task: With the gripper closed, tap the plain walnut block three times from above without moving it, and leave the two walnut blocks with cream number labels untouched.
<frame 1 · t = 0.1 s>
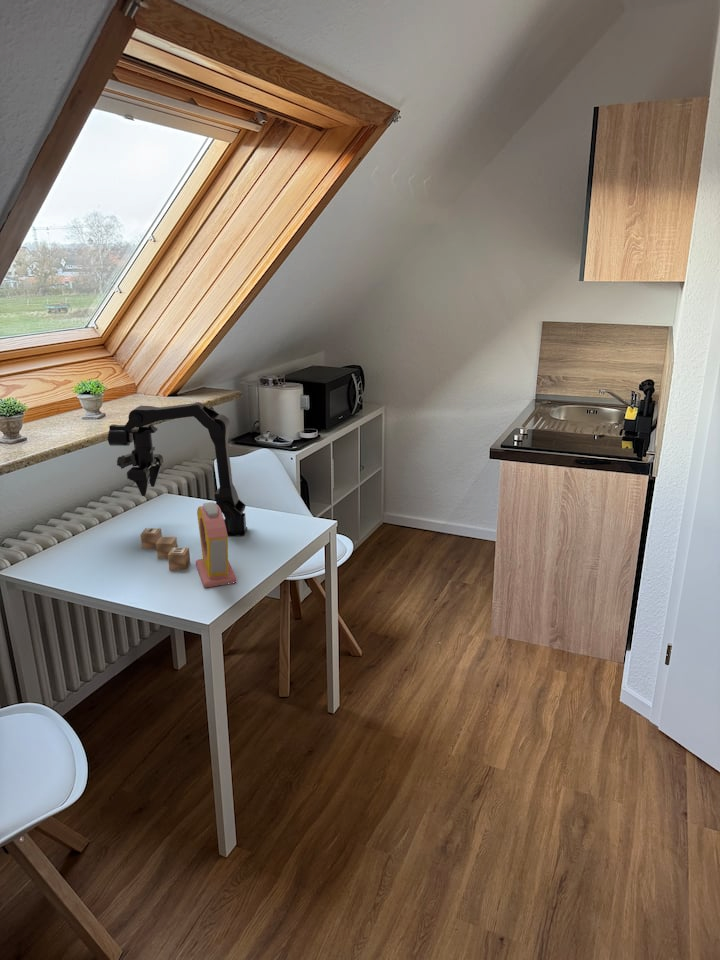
hand: (148, 491, 228), 15 cm above the table, tool pointing down, fingers open, 9 cm apart
numbered block b: (179, 566, 208), on the table
plain block: (167, 555, 216), on the table
numbered block a: (152, 545, 223), on the table
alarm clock: (215, 574, 203), on the table
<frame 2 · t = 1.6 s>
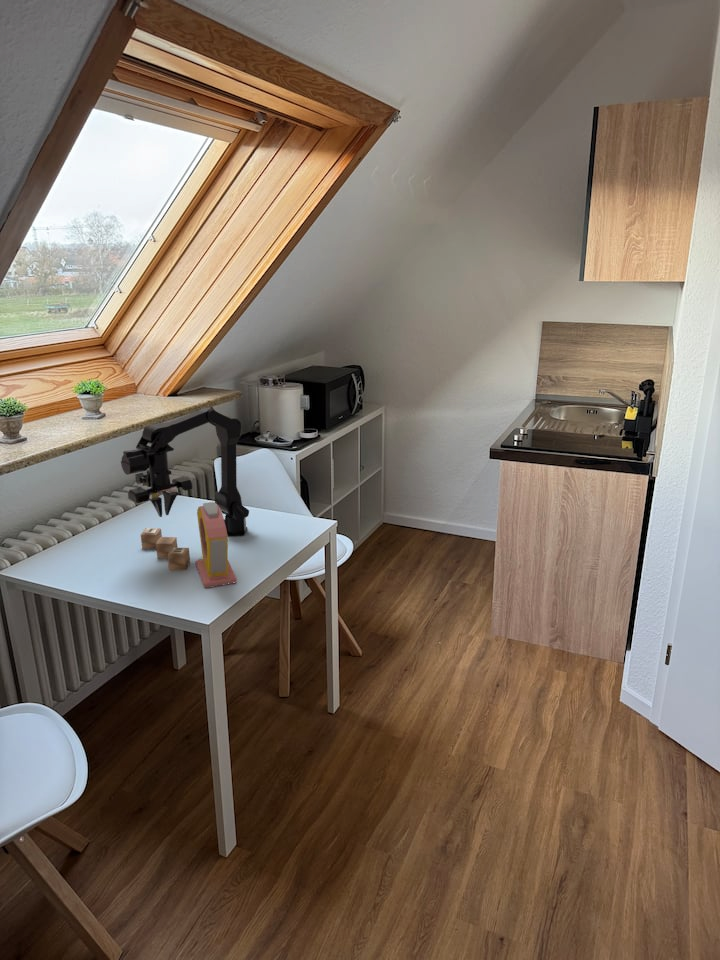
hand: (163, 515, 212), 13 cm above the table, tool pointing down, fingers closed
nothing on the table moved.
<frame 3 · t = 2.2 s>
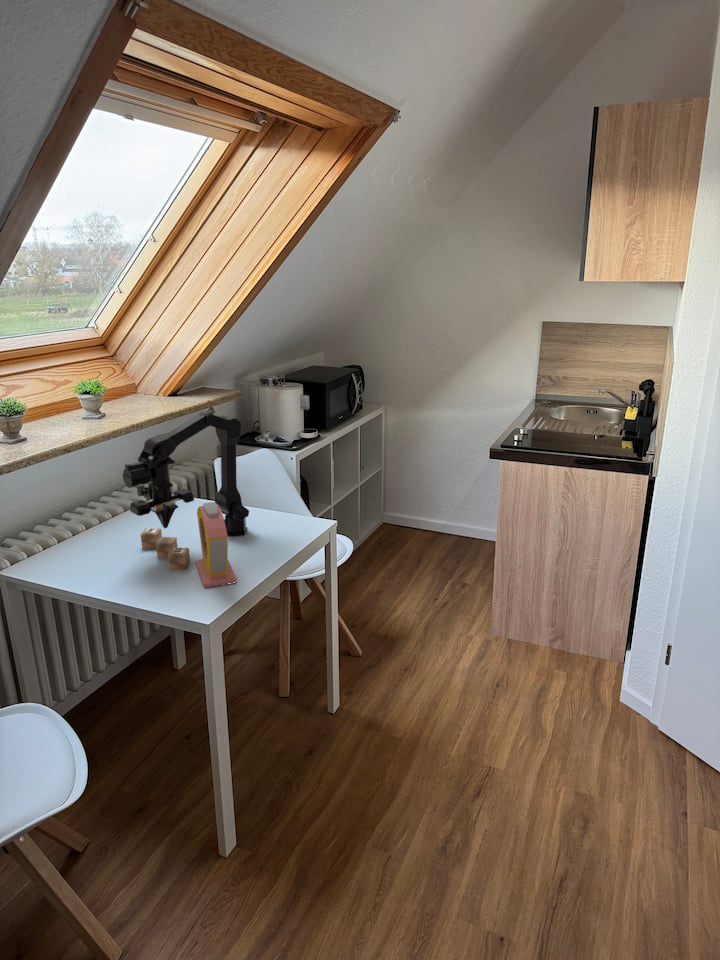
hand: (165, 527, 213), 9 cm above the table, tool pointing down, fingers closed
nothing on the table moved.
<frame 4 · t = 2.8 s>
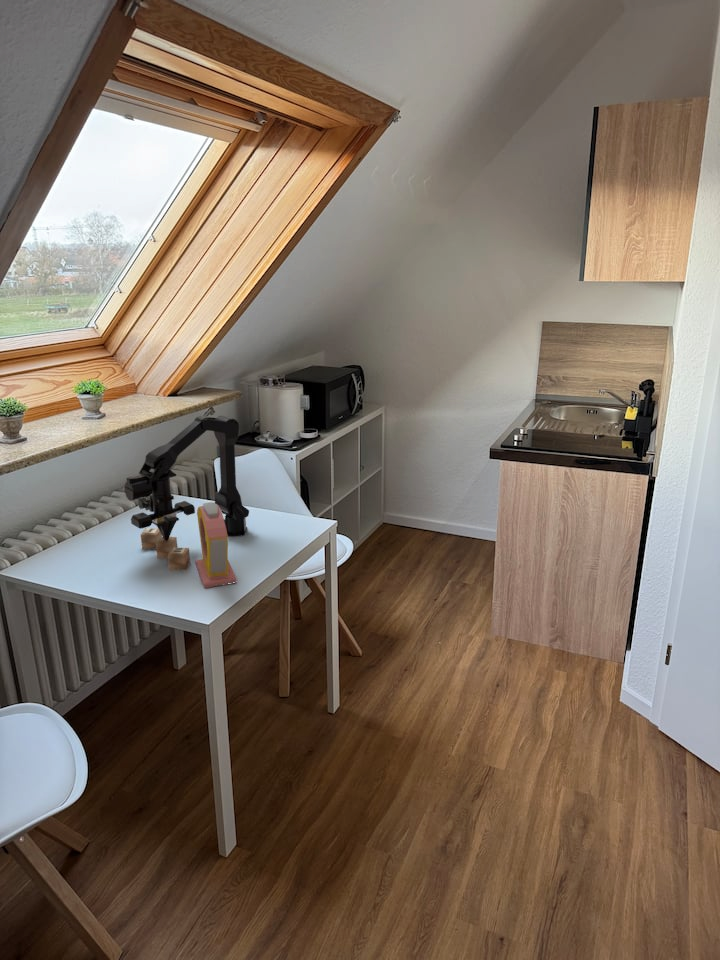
hand: (166, 540, 214), 5 cm above the table, tool pointing down, fingers closed, pressing on plain block
plain block: (167, 554, 216), on the table, touching gripper
everything else where it was.
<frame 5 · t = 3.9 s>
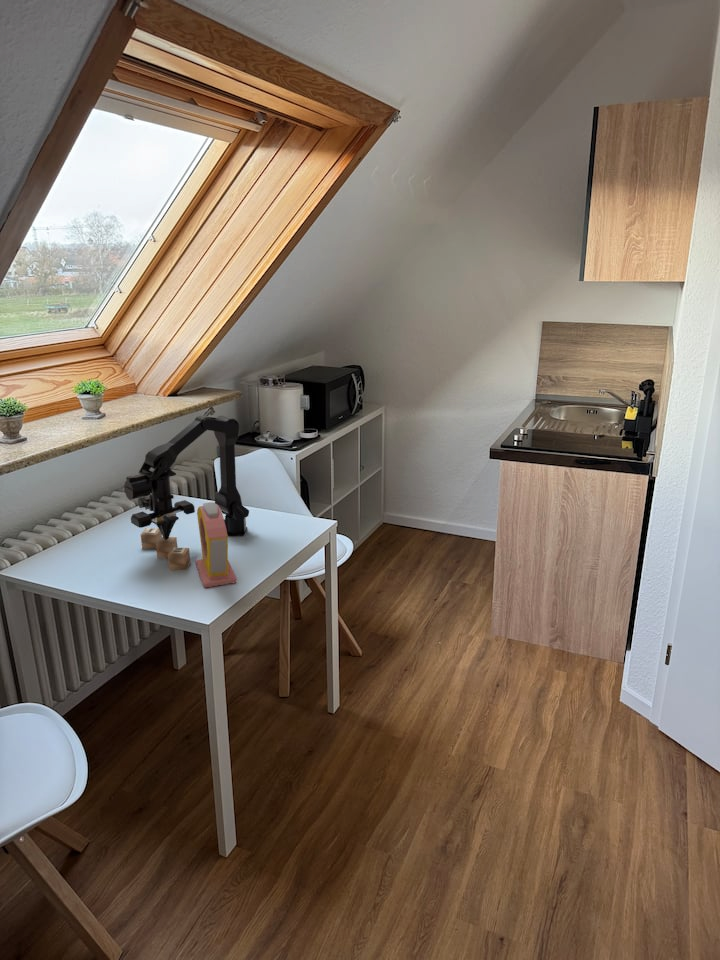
hand: (166, 539, 214), 5 cm above the table, tool pointing down, fingers closed
plain block: (167, 555, 216), on the table
everything else where it was.
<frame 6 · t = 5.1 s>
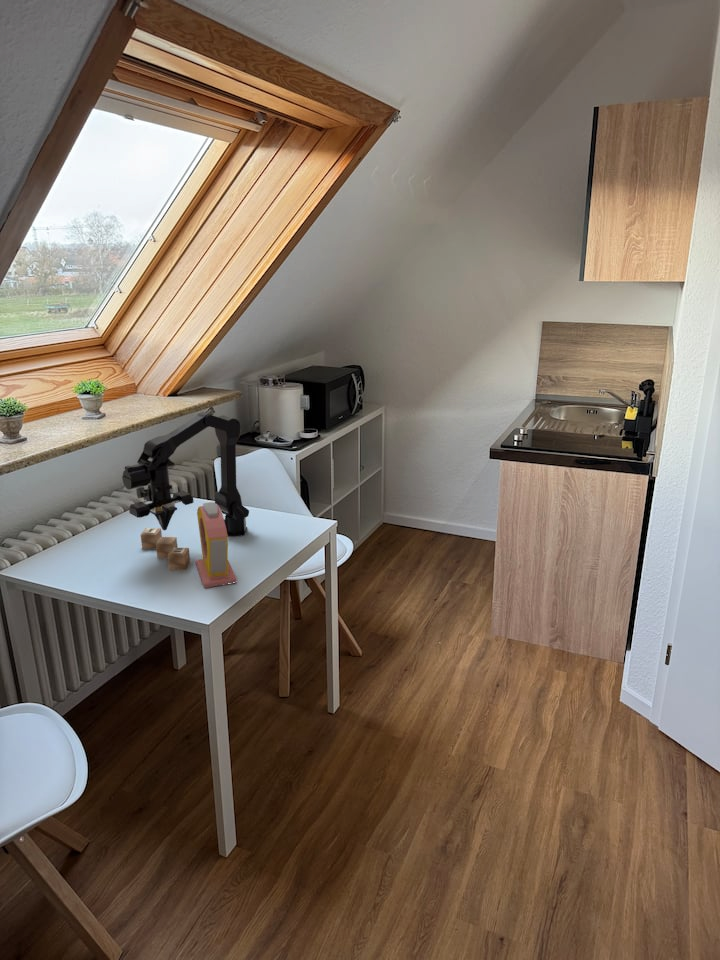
hand: (164, 529, 213), 8 cm above the table, tool pointing down, fingers closed
nothing on the table moved.
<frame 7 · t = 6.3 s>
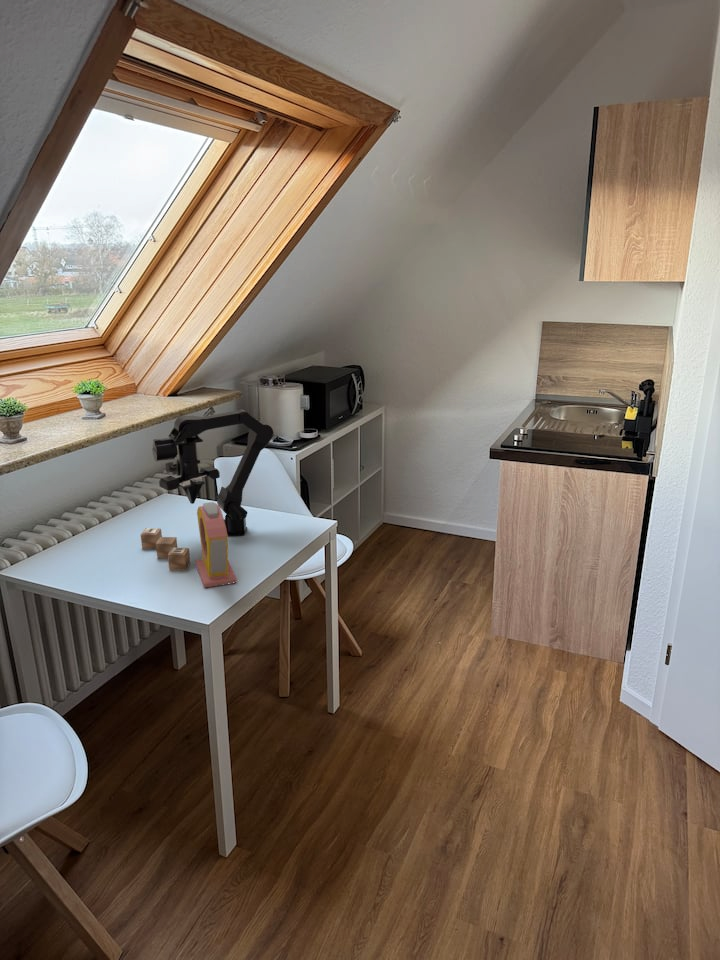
hand: (192, 503, 222), 13 cm above the table, tool pointing down, fingers closed
nothing on the table moved.
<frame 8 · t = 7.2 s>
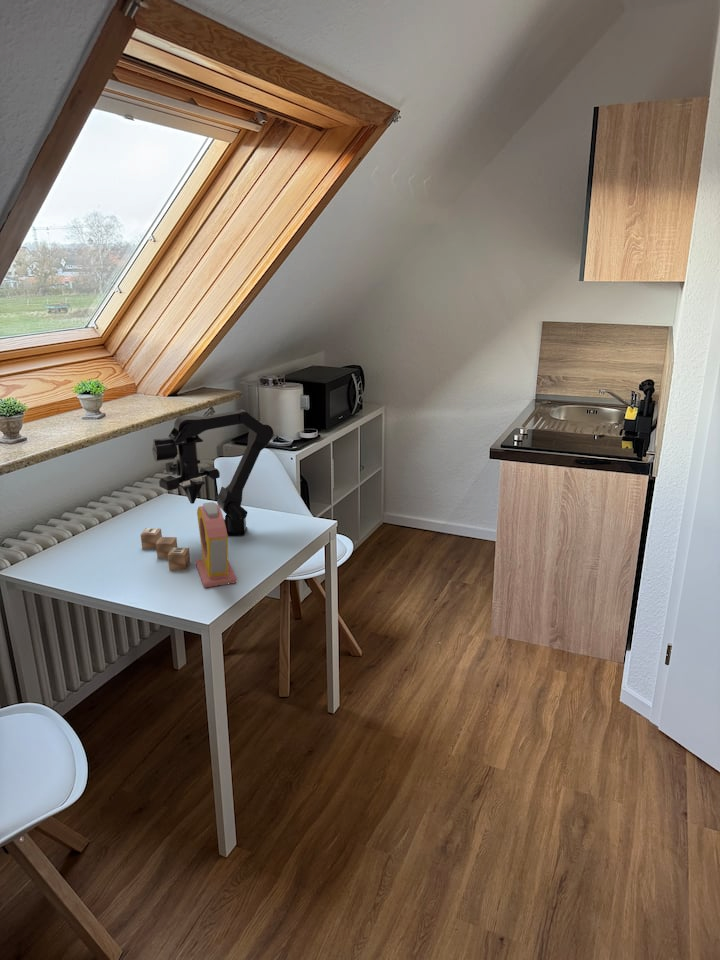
hand: (192, 503, 222), 13 cm above the table, tool pointing down, fingers closed
nothing on the table moved.
at the end: plain block moved 0.1 cm from its start; plain block tilted 0°; numbered block b moved 0.1 cm from its start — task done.
